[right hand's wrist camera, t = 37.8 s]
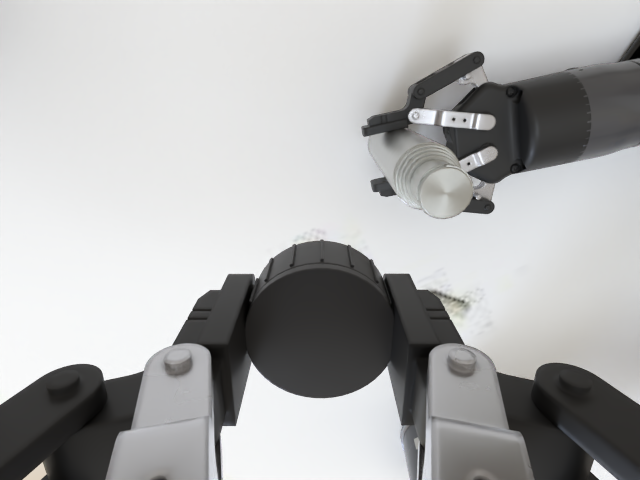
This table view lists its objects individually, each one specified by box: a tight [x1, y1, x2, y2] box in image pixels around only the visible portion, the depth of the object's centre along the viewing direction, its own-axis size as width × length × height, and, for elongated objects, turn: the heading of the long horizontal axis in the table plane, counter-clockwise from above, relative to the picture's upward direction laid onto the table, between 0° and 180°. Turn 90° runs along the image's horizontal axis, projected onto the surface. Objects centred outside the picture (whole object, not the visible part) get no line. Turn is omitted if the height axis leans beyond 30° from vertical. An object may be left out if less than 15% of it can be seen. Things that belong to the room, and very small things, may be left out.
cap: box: [245, 240, 394, 398], centre depth 11 cm, size 4×4×2 cm
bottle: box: [368, 128, 474, 219], centre depth 31 cm, size 4×4×22 cm
